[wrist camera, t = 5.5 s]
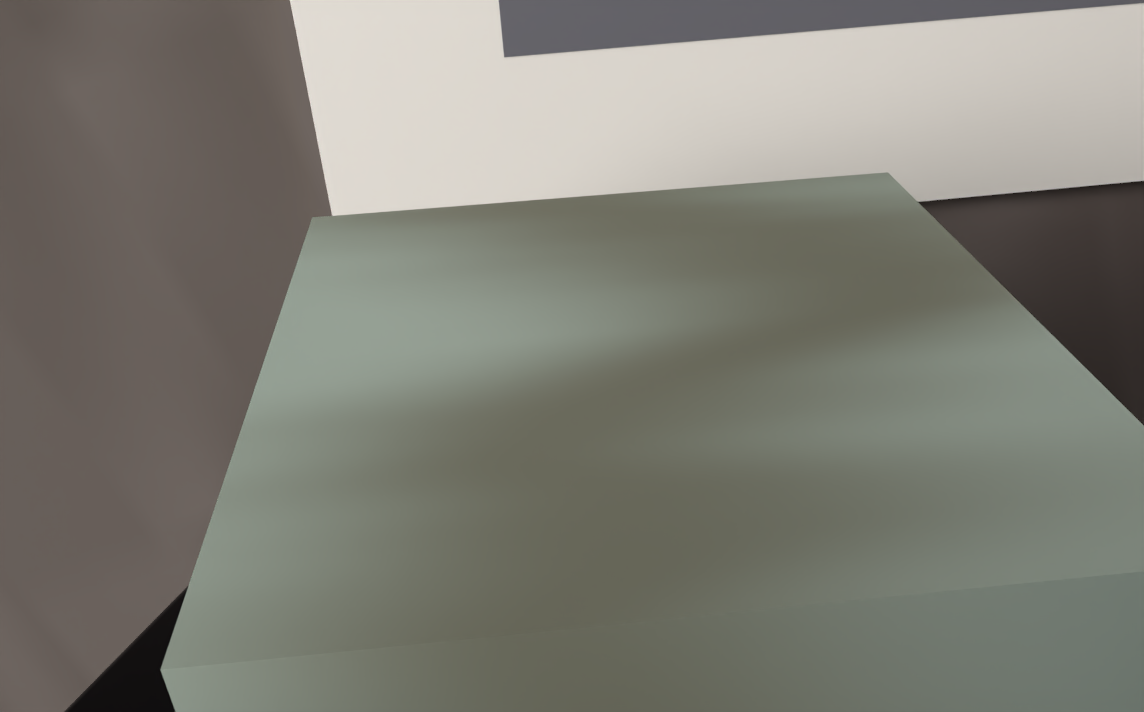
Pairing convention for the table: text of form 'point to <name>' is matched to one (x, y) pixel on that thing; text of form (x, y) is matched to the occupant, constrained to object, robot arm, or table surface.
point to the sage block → (667, 472)
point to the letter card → (717, 96)
